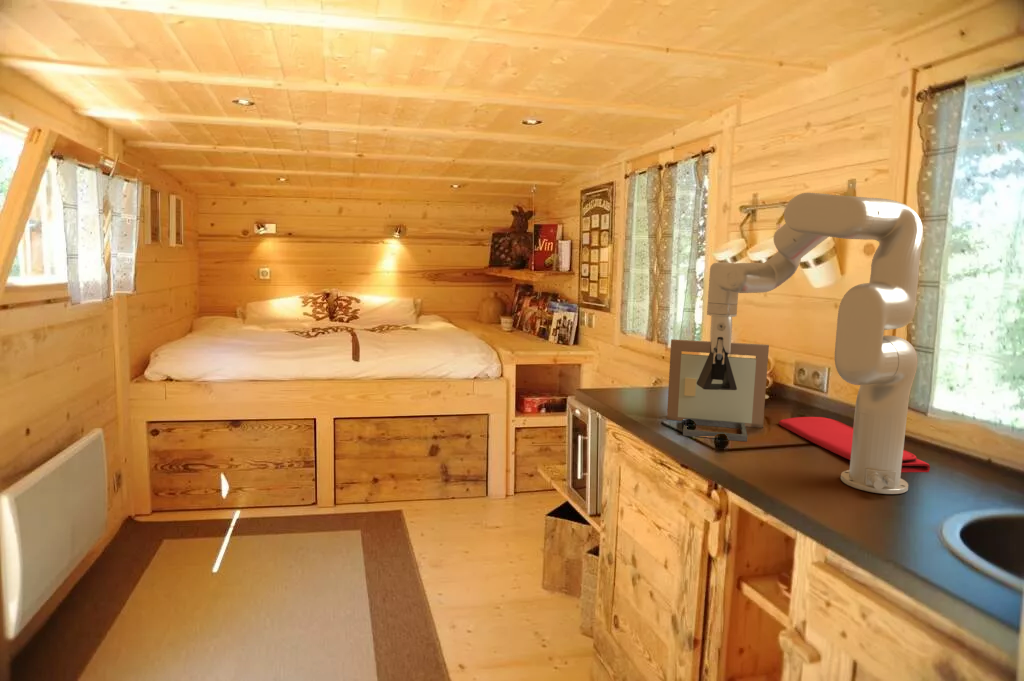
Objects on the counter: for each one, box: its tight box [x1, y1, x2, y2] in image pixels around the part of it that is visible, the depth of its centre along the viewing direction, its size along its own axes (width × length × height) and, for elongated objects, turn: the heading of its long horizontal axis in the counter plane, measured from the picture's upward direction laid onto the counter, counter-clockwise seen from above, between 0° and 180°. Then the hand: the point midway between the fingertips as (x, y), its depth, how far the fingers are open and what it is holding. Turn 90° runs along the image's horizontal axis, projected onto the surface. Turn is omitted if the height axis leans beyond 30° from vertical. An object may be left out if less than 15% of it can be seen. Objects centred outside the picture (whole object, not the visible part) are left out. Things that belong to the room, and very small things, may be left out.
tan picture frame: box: [666, 338, 770, 429], centre depth 191 cm, size 4×26×23 cm, turn 74°
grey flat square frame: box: [682, 418, 748, 442], centre depth 182 cm, size 14×16×2 cm
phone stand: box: [697, 343, 737, 390], centre depth 180 cm, size 9×6×12 cm, turn 91°
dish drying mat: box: [778, 416, 931, 473], centre depth 171 cm, size 16×41×4 cm, turn 5°
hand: (717, 376), depth 180 cm, fingers closed on phone stand, 6 cm apart
